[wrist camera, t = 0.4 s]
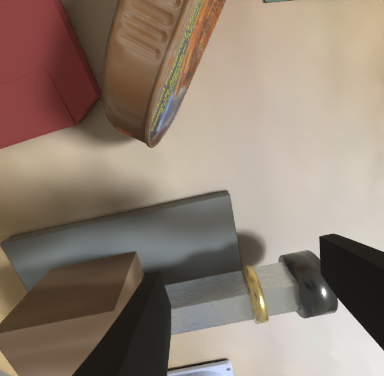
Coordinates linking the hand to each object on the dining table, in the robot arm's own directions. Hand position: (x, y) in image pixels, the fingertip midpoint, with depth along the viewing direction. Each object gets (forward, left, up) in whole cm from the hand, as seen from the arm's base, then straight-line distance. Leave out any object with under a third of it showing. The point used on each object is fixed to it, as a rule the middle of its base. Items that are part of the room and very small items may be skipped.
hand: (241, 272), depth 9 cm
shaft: (-7, +3, -7) cm, 10 cm away
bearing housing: (-7, +9, -9) cm, 14 cm away
